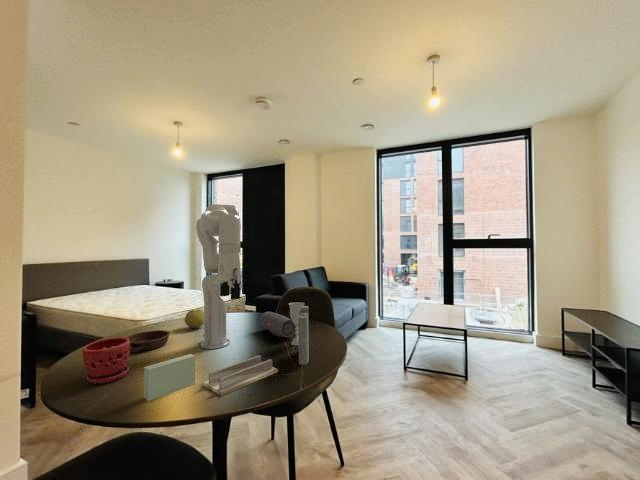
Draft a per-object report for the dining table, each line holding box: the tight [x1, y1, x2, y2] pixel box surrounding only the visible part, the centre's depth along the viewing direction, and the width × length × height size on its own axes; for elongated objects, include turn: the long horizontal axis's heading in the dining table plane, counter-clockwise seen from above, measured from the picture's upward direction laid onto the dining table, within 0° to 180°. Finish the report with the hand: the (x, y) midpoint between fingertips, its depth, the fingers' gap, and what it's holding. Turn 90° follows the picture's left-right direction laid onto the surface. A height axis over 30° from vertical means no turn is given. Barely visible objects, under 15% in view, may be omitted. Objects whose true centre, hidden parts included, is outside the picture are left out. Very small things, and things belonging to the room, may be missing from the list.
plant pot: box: [82, 337, 131, 384], centre depth 102 cm, size 13×13×12 cm
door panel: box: [143, 353, 196, 402], centre depth 93 cm, size 3×14×9 cm, turn 139°
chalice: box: [288, 301, 305, 346], centre depth 136 cm, size 7×7×18 cm
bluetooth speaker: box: [259, 311, 296, 338], centre depth 151 cm, size 23×9×10 cm, turn 36°
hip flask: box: [298, 305, 310, 366], centre depth 119 cm, size 16×4×20 cm, turn 3°
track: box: [202, 355, 279, 397], centre depth 101 cm, size 11×22×4 cm, turn 140°
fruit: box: [184, 308, 204, 329], centre depth 164 cm, size 11×12×10 cm
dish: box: [126, 329, 171, 353], centre depth 135 cm, size 18×22×5 cm
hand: (230, 297), depth 107 cm, fingers open, 9 cm apart
